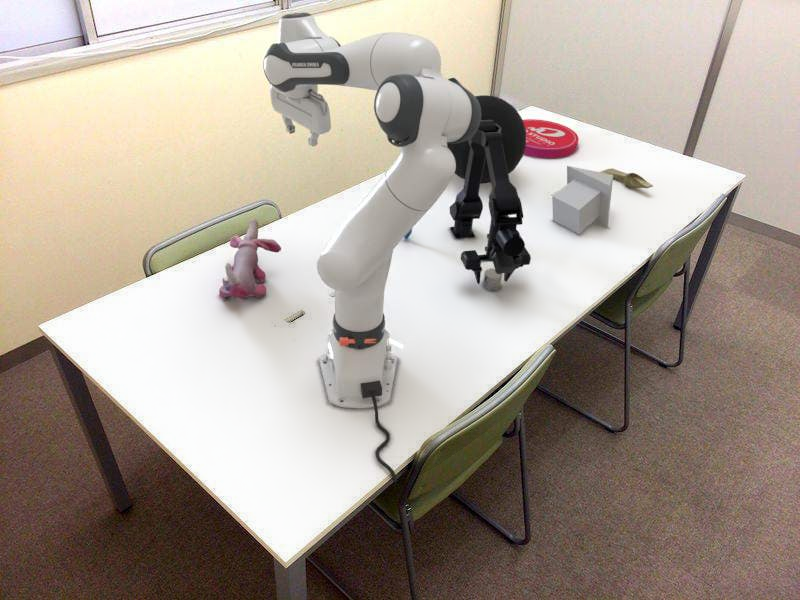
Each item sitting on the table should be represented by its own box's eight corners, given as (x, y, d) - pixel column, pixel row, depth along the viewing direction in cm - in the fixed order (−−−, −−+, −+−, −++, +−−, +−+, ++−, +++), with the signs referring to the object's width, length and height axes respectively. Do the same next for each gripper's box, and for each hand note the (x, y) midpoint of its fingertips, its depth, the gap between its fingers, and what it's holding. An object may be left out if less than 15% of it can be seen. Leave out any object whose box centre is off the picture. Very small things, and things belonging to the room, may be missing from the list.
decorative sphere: (427, 189, 230) (433, 106, 212) (447, 155, 253) (455, 77, 235) (511, 205, 224) (526, 121, 206) (524, 168, 247) (539, 90, 229)
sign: (543, 165, 250) (591, 146, 266) (545, 156, 248) (593, 138, 264) (487, 137, 268) (535, 121, 284) (488, 129, 266) (537, 114, 282)
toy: (299, 270, 187) (288, 223, 179) (243, 315, 171) (228, 266, 163) (250, 258, 196) (238, 213, 188) (193, 300, 180) (176, 253, 172)
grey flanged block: (632, 205, 220) (636, 162, 206) (586, 246, 212) (587, 205, 199) (592, 185, 229) (593, 144, 216) (546, 224, 222) (544, 183, 209)
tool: (597, 174, 249) (599, 163, 246) (610, 171, 251) (612, 160, 248) (638, 197, 232) (641, 185, 229) (652, 193, 234) (655, 182, 231)
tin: (492, 278, 190) (494, 266, 187) (503, 287, 186) (505, 275, 184) (479, 283, 188) (481, 271, 185) (489, 292, 184) (491, 280, 182)
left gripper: (336, 94, 153) (337, 149, 161) (285, 70, 164) (288, 122, 172) (315, 100, 149) (316, 156, 158) (264, 74, 160) (268, 128, 169)
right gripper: (475, 255, 169) (468, 302, 178) (542, 249, 173) (532, 296, 182) (463, 232, 177) (457, 278, 187) (527, 227, 181) (518, 273, 191)
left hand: (301, 138), depth 165 cm, fingers open, 8 cm apart
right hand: (491, 282), depth 186 cm, fingers open, 8 cm apart
